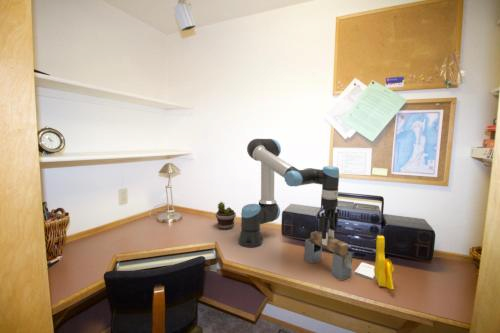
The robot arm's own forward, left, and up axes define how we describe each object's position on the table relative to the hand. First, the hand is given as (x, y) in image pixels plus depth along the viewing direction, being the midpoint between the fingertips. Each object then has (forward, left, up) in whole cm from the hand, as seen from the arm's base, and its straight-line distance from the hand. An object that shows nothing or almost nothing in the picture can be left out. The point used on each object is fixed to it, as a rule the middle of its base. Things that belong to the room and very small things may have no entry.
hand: (327, 243), depth 118 cm
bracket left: (-8, 0, -13) cm, 15 cm away
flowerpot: (-76, -17, -13) cm, 79 cm away
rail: (0, 0, -2) cm, 2 cm away
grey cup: (+8, 0, -13) cm, 15 cm away
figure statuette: (+23, +10, -13) cm, 28 cm away
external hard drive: (+13, +14, -13) cm, 23 cm away
